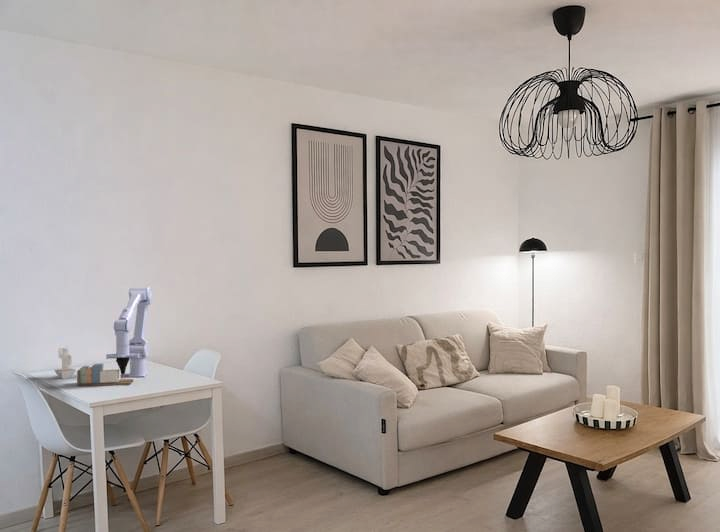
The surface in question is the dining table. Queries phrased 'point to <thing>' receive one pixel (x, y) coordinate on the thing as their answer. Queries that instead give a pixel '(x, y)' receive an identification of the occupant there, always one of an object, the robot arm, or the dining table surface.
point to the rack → (86, 378)
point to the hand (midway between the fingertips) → (123, 373)
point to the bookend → (110, 375)
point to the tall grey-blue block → (96, 372)
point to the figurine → (65, 364)
